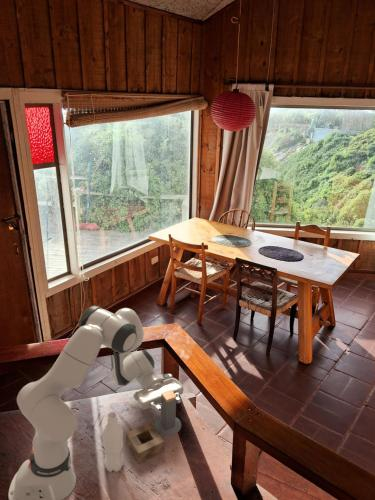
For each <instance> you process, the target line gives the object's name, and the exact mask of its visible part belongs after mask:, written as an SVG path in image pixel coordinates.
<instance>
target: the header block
mask: <svg viewBox="0 0 375 500" xmlns="http://www.w3.org/2000/svg"><path fill="white" fill-rule="evenodd" d="M125 436H126V437H125V441H126V445H127V447H128V448H129V450H130V451H131V453H132V455H133V456H134V458H135V460H136V461H137V463H138V464H140V463H142V462H145V461H147V460H148V459H151V458H152V457H154V456H156V455H159V454H161V453H163V452H165V440H164V438H163V437H162V436H161V434H160V433H159V432H158V431H157V430H156V428H155V425H154V424H153V423H152V422H149V423H147V424H144V425H141V426H139V427H137V428H134V429H132V430H131V431H128V432H126V433H125Z"/></svg>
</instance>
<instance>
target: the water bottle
mask: <svg viewBox="0 0 375 500" xmlns="http://www.w3.org/2000/svg"><path fill="white" fill-rule="evenodd" d="M106 422H107V423H106V425H105V426H104V427H103V430H102V437H103V438H102V441H103V445H102V446H103V448H104V450H105V458H104V463H103V464H104V467H105V469H106V470H107V471H108V472H110V473H112V472H113V471H114V473H116V472H119V471H120V470H121V469H122V467H123V466H124V463H125V458H124V455H123V452H122V450H123V448H124V435H123V434H124V430H123V427H122V425H121V424H120V423H119V422H118V417H117V413H116V412H115V411H110V412H109V413H108V414H107V419H106Z"/></svg>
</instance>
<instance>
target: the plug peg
mask: <svg viewBox="0 0 375 500" xmlns="http://www.w3.org/2000/svg"><path fill="white" fill-rule="evenodd" d="M176 398H177V396H176V395H175V394H174V393H173V391H172V390H168V391H166V392H163V393H161V403H160V407H161V411H160V417H161V425H162V426H163V428H164V429H165V430H169V429H171V428H173V427H175V419H176V416H177V415H176V413H177V412H176V411H177V402H176Z"/></svg>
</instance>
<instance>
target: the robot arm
mask: <svg viewBox="0 0 375 500" xmlns="http://www.w3.org/2000/svg"><path fill="white" fill-rule="evenodd" d="M144 336H145V332H144V327H143V325H142V321H141V319H140V317H139V315H138V313H136V311H135V310H133V309H132V308H130V307H129V308H128V307H123V308H120V309H118V310H117V311H116V312H115V313H113V312H111V311H109V310H107V309H105V308H104V307H102V306H99V305H92V306H90V307H88V308H86V309H85V310H84V312H83V313H82V315H81V317H80V321H79V328H77V330H76V331H75V332H74V334H72V336H71V337H70V338H69V340H68V341H67V343H66V344H65V346H64V347H63V349H62V350H61V352H60V354H59V356H58V357H57V359H56V361H55V362H54V363H53V365H52V367H51V368H50V369H49V370H48V372H47V373H46V374H44V375H43V376H42V377H41V378H39V379H38V380H36V381H31V382H29V383H27V384H26V385H23V387H22V388H21V389H20V390H19V392H18V394H17V397H16V403H17V406H18V408H19V410H20V412H21V414H22V416H24V417H25V418H26V419H27V420H28V421H29V422H30V424H31V425H32V427H33V428H34V429H35V431H36V434H35V435H34V436H33V439H32V442H31V443H32V447H31V451H30V453H31V454H30V456H29V458H28V459H26V460H25V461H24V462H23V463H22V464H21V465H20V466H19V469H18V471H17V472H16V473H15V474H14V476H13V479H12V480H11V482H10V485H9V489H8V496H7V497H8V500H64V499H65V498H67V497H68V496H69V495H70V494H72V492H73V490H74V489H75V487H76V482H77V476H76V473H75V471H74V470H73V467H72V465H71V464H72V455H71V451H70V448H69V445H68V440H69V439H70V438H71V437H72V436H73V435H74V433H75V431H76V430H77V427H78V418H77V416H76V415H75V412H74V411H73V410H72V408H71V407H70V406H69V405H68V404H66V402H65V401H64V400H63V399H61V398H62V396H63V394H64V393H65V392H66V391H67V390H69V389H76V388H78V387H80V386H81V385H82V384H83V382H84V380H85V378H86V377H87V375H88V373H89V371H90V370H91V368H92V366H93V364H94V363H95V360H96V359H97V357H98V355H99V352H100V350H101V347H102V345H103V346H105V347H106V348H109V349H110V348H111V349H112V350H113V351H114V352H113V353H114V355H110V363H111V365H110V367H111V368H110V374H111V377H112V380H113V382H115V383H116V384H117V385H118V386H123V387H126V386H128V385H129V384H130V383H131V382H132V381H133V380H135V381H136V382H137V383H138V384H139V385H140V387H141V388H142V389H141V390H138V391H136V392H135V393H134V394H133V398H134V400H135V401H137V404H138V407H139V408H140V409H141V410H144V411H145V410H147V409H152V410H154V411H156V412H157V413H159V412H161V405H159V404H161V393H163V392H166V391H168V390H172V391H173V393H174V394H175V395H176V396H177V398H176V404H180V403H181V402H182V400H181V397H180V396H182V395H183V394H184V385H183V384H182V383H181V381H179V380H178V379H177V378H175V377H173V374H171V373H165V374H161V373H160V374H158V373H156V371H155V366H156V365H155V360H154V358H153V357H152V355H151V354H150V352H148V350H146V349H144V350H141V351H137V350H138V349H139V347H140V346H141V345H142V343H143V341H144ZM131 351H133V352H131ZM116 352H118V353H120V354H117V353H116Z"/></svg>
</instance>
